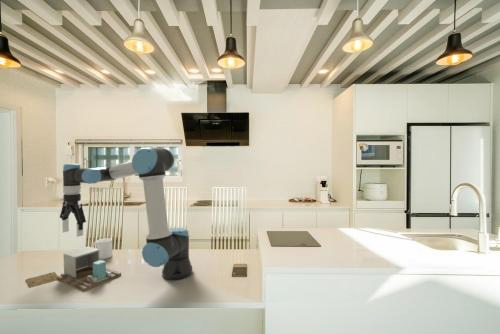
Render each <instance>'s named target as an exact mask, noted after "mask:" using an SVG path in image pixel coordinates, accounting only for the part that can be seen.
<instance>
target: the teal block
mask: <svg viewBox="0 0 500 334" xmlns="http://www.w3.org/2000/svg"><path fill="white" fill-rule="evenodd" d="M106 268H107V262H106V261H105V260H104V259H100V260H99V261H96V262H94V263H93V277H96V278H97V281H99V280H102V279H104V278H106Z"/></svg>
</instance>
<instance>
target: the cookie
mask: <svg viewBox="0 0 500 334" xmlns="http://www.w3.org/2000/svg"><path fill="white" fill-rule="evenodd" d="M57 276H58V275H57V273H56V272H55V271H53V272H49V273H45V274H41V275H38V276H34V277H29V278H26V279H25V282H26V284H27V287H28V286H29V287H28V288H29V289H31V288H35V287H39V286H41V285H45V284H49V283H52V282H56V281H60V280H59V279H58V278H57Z"/></svg>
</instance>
